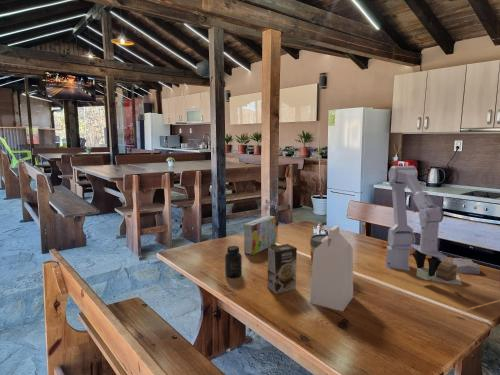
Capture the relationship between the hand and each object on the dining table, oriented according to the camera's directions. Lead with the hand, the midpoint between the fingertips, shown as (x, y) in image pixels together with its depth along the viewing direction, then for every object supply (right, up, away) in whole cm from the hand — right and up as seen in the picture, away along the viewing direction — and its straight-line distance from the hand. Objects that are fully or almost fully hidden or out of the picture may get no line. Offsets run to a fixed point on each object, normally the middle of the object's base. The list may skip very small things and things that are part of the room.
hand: (426, 273), depth 133 cm
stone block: (+24, -3, +17) cm, 29 cm away
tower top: (+11, -1, +6) cm, 13 cm away
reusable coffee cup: (-36, -3, +13) cm, 38 cm away
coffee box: (-55, -6, -1) cm, 55 cm away
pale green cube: (0, -2, 0) cm, 2 cm away
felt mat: (+11, -4, +7) cm, 14 cm away
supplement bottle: (-74, -4, +11) cm, 75 cm away
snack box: (-62, +1, +45) cm, 76 cm away
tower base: (+11, -4, +7) cm, 14 cm away
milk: (-38, -7, -10) cm, 40 cm away
